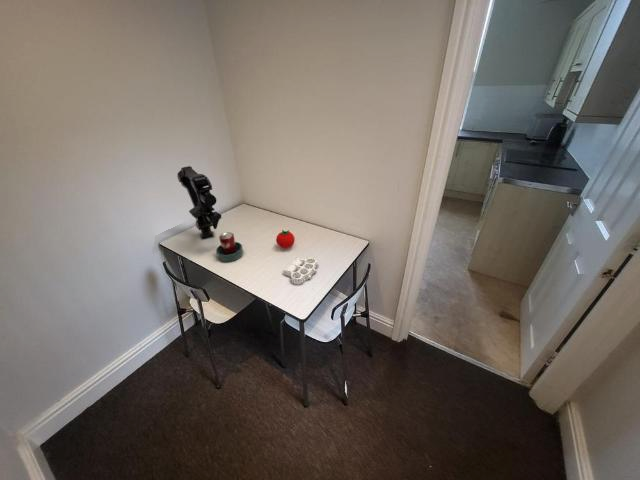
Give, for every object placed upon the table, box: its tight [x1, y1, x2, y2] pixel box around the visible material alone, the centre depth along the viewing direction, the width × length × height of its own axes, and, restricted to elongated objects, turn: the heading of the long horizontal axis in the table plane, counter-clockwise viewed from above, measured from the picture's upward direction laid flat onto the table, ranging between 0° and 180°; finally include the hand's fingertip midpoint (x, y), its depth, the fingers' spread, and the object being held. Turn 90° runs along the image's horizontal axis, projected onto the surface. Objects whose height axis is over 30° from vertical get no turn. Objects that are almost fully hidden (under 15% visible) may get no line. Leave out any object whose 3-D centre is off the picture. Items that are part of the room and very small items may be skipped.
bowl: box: [215, 241, 244, 263], centre depth 138 cm, size 13×13×4 cm
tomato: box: [275, 229, 296, 249], centre depth 143 cm, size 10×10×10 cm
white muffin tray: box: [282, 257, 318, 285], centre depth 126 cm, size 3×18×15 cm
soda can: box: [218, 231, 237, 255], centre depth 136 cm, size 7×7×12 cm
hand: (211, 226), depth 140 cm, fingers open, 9 cm apart
